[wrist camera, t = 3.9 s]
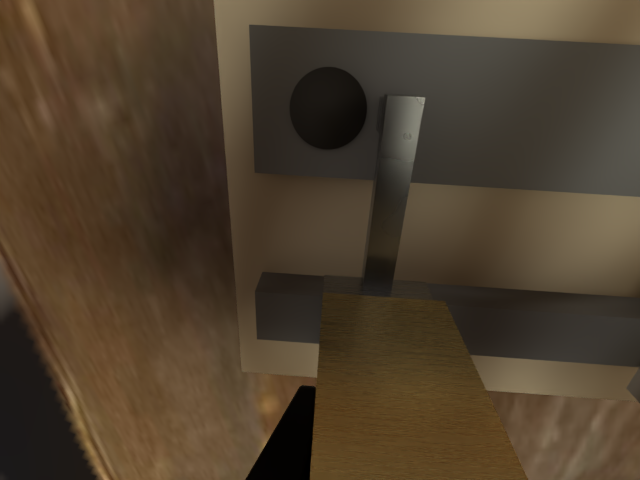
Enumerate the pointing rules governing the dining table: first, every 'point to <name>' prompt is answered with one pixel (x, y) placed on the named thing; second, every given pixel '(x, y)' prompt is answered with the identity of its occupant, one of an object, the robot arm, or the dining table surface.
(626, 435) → the dining table surface
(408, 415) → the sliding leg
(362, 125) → the board with grey bars
